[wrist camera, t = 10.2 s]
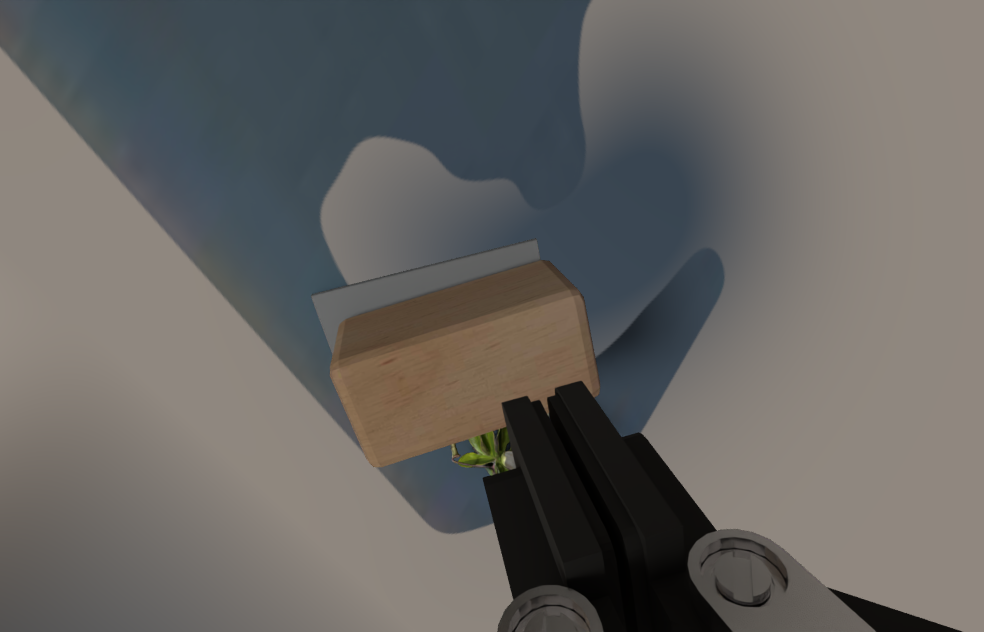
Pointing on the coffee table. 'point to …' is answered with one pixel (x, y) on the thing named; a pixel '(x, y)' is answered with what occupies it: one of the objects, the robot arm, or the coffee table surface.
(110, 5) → the coffee table surface
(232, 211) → the coffee table surface
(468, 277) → the rubber mat
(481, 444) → the passion flower
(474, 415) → the block
